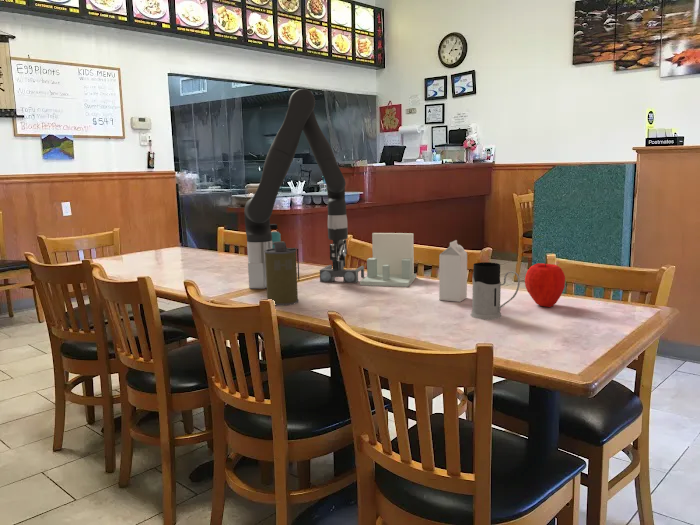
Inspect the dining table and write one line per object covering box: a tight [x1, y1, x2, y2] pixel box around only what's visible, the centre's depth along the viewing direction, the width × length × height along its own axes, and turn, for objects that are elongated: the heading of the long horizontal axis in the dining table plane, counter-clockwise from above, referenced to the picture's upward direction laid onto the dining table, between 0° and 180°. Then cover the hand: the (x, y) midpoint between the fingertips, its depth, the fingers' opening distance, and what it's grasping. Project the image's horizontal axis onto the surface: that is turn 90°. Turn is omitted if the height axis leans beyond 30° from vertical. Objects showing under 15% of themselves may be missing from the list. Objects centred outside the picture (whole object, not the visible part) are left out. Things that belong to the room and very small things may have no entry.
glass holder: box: [470, 261, 521, 320], centre depth 162 cm, size 9×14×15 cm, turn 51°
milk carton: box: [438, 239, 468, 303], centre depth 185 cm, size 7×7×19 cm
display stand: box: [359, 232, 417, 288], centre depth 216 cm, size 18×18×18 cm
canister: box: [264, 240, 300, 307], centre depth 187 cm, size 11×10×20 cm
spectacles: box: [319, 260, 365, 284], centre depth 223 cm, size 12×14×8 cm
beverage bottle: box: [270, 223, 282, 248], centre depth 248 cm, size 6×7×20 cm
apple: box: [524, 262, 566, 308], centre depth 174 cm, size 12×12×13 cm
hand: (339, 268), depth 219 cm, fingers open, 8 cm apart
